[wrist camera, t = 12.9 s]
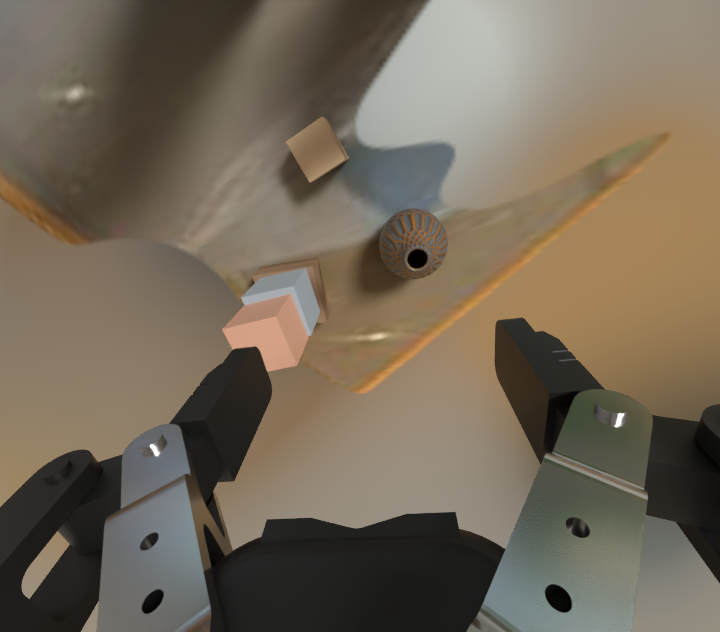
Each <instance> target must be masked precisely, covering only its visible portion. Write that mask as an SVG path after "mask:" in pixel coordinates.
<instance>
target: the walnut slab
mask: <svg viewBox="0 0 720 632" xmlns="http://www.w3.org/2000/svg"><path fill="white" fill-rule="evenodd" d="M302 268H306V270H307V273H308V276H309V279H310V282H311V285H312V288H313V291H314V294H315V297H316V300H317V303H318V306H319V309H320V314H319V317H318V319H317V322H316V324H318V323H325V322H327V319H328V316H329V313H330V308H329V304H328V299H327V295H326V291H325V287H324V283H323V279H322V275H321V271H320V266H319V262H318V258H314V259H307V260H301V261H295V262H289V263H282V264H276V265H270V266H263V267H261V268H260V269H259V270H258V271H257V272H256V273H255V274H254V275H253V279H254V282H255V283H256V281H257V280H258V279H259V278H263V277H267V276H271V275H276V274H280V273H284V272H289V271H293V270H298V269H302Z"/></svg>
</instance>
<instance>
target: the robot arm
mask: <svg viewBox="0 0 720 632" xmlns="http://www.w3.org/2000/svg"><path fill="white" fill-rule="evenodd" d="M495 329H496V331H495V369H496V374H497V378H498V380H499V382H500V384H501V386H502V388H503V390H504V392H505V394H506V396H507V398H508V400H509V402H510V404H511V406H512V408H513V410H514V412H515V414H516V416H517V418H518V420H519V422H520V424H521V426H522V428H523V430H524V432H525V434H526V436H527V438H528V440H529V442H530V444H531V446H532V448H533V450H534V452H535V454H536V456H537V458H538V460H539V462H540V464H541V466H540V468H539V471H538V473H537V476H536V478H535V480H534V482H533V485H532V487H531V490H530V492H529V494H528V497H527V499H526V502H525V504H524V506H523V509H522V511H521V514H520V516H519V518H518V521H517V523H516V525H515V528H514V530H513V533H512V535H511V537H510V540H509V542H508V545H507V547H506V549H504V548H502V547H501V546H499V545H498V544H496V543H494V542H492V541H491V540H489V539H487V538H484V537H482V536H480V535H477V534H474V533H472V532H469V531H465V530H461V529H459V527H458V523H457V517H456V513H455V512H448V513H422V514H405V515H402V516H399V517H395V518H392V519H389V520H386V521H382V522H379V523H376V524H373V525H370V526H366V527H363V528H358V529H355V528H349V527H345V526H341V525H337V524H333V523H329V522H325V521H321V520H317V519H313V518H297V519H271V520H267V521H266V524H265V528H264V531H263V534H262V537H260V538H257V539H255V540H252V541H250V542H248V543H246V544H244V545H242V546H241V547H239V548H237V549H235V550H234V551H233V549H232V546H231V543H230V539H229V536H228V533H227V529H226V526H225V522H224V519H223V516H222V512H221V509H220V505H219V502H218V498H217V496H216V494H215V492H214V488H215V486H216V484H217V482H227V481H234V480H235V478H236V476H237V474H238V471H239V469H240V467H241V465H242V462H243V460H244V458H245V456H246V453H247V451H248V449H249V447H250V444H251V442H252V440H253V437H254V435H255V433H256V431H257V429H258V426H259V424H260V422H261V420H262V417H263V415H264V413H265V411H266V409H267V406H268V404H269V402H270V399H271V395H272V386H271V381H270V378H269V375H268V373H267V370H266V367H265V364H264V361H263V358H262V355H261V352H260V350H259V349H258V348H257V347H256V346H254V347H244V348H235V349H233V350H232V351H231V353H230V354H229V355H228V357H227V358H226V359H225V361H224V362H223V363H222V364H220V365H219V366H217V367H216V368H215V369H213V370H212V371H211V372H210V373H208V374H207V376H206V377H205V378H204V379H203V381H202V382H201V383H200V386H198V387H197V388H196V390H195V391H194V392H193V395H191V396H190V397H189V399H188V400H187V401H186V403H185V404H184V405H183V407H182V408H181V409H180V410H179V412H178V413H177V414H176V416H175V417H174V418H173V420H172V421H171V422H170V423H169V424H164V425H160V426H157V427H154V428H152V429H150V430H148V431H146V432H144V433H143V434H141V435H140V436H139V437H137V438H136V439H135V440H133V442H131V443H130V444H129V446H128V447H127V448H126V450H125V451H124V453H123V455H120V456H116V457H113V458H110V459H107V460H104V461H101V462H97V460H96V459H95V458H94V456H93V455H92V454H91V453H90V451H88V450H76V451H72V452H69V453H66V454H64V455H62V456H60V457H58V458H56V459H54V460H52V461H51V462H49V463H48V464H46V465H45V466H43V467H42V468H41V469H39V470H38V471H37V472H36V473H35V474H34V475H33V476H31V478H29V480H27V481H26V482H25V484H23V485H22V486H21V487H20V488H19V489H18V490H17V491H16V492H15V493H14V494H13V495H12V496H11V497H10V498H9V499H8V500H7V501H6V502H5V503H4V504H3V505H2V506H1V507H0V632H81V630H82V628H83V627H84V625H85V623H86V621H87V620H88V618H89V616H90V615H91V613H92V611H93V609H94V608H95V606H96V604H97V602H98V601H99V606H98V620H97V632H632V625H633V617H634V609H635V600H636V592H637V584H638V576H639V567H640V559H641V551H642V543H643V534H644V525H645V517H646V515H649V516H653V517H658V518H662V519H666V520H671V521H675V522H676V523H677V524H678V526H679V527H680V528H681V530H682V531H683V533H684V534H685V535H686V537H687V538H688V540H689V541H690V542H691V544H692V545H693V547H694V548H695V549H696V551H697V552H698V554H699V555H700V556H701V558H702V559H703V560H704V562H705V563H706V565H707V566H708V568H709V569H710V570H711V572H712V573H713V574H714V576H715V577H716V579H717V580H718V581H719V583H720V404H719V405H713V406H710V407H708V408H706V409H705V410H704V411H703V414H702V416H701V419H700V421H699V422H697V421H689V420H681V419H674V418H667V417H660V416H654V415H651V413H650V412H649V411H648V409H647V408H646V407H645V406H644V405H642V404H641V403H640V402H638V401H637V400H635V399H633V398H631V397H629V396H626V395H624V394H621V393H618V392H615V391H610V390H605V389H604V388H603V387H602V386H601V385H600V384H599V382H597V380H596V379H595V378H594V377H593V376H592V375H591V374H590V373H589V372H588V371H587V370H586V368H585V367H584V366H583V365H582V364H581V363H580V362H579V361H578V360H576V358H575V356H574V355H573V354H572V353H571V352H568V349H567V348H566V347H565V346H564V345H563V343H562V342H561V341H560V340H559V339H557V338H555V337H553V336H552V335H549V334H548V333H546V332H544V331H540V332H535V331H534V330H533V329H532V327H531V326H530V325H529V324H528V323H527V321H526V320H525V319H524V318H515V319H505V320H498V321H497V323H496V328H495ZM57 531H58V532H59V533H60V534H61V535H62V536H63V537H64V538H65V539H66V540H67V541H68V543H69V544H70V545H69V547H68V548H67V550H66V551H65V552H64V553H63V555H62V556H61V557H60V559H59V560H58V562H57V563H56V564H55V565H54V567H53V568H52V569H51V571H50V572H49V574H48V575H47V576H46V578H45V579H44V580H43V582H42V583H41V585H40V586H39V587H38V588H37V590H36V591H35V592H34V594H33V595H32V597H31V598H30V599H28V598H27V597H25V595H24V594H23V593H22V589H21V584H22V579H23V576H24V574H25V572H26V570H27V569H28V567H29V566H30V564H31V563H32V562H33V560H34V559H35V558H36V557H37V556H38V554H39V553H40V552H41V551H42V549H43V548H44V547H45V546H46V544H47V543H48V542H49V541H50V539H51V538H52V537H53V536H54V534H55V533H56V532H57Z"/></svg>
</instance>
